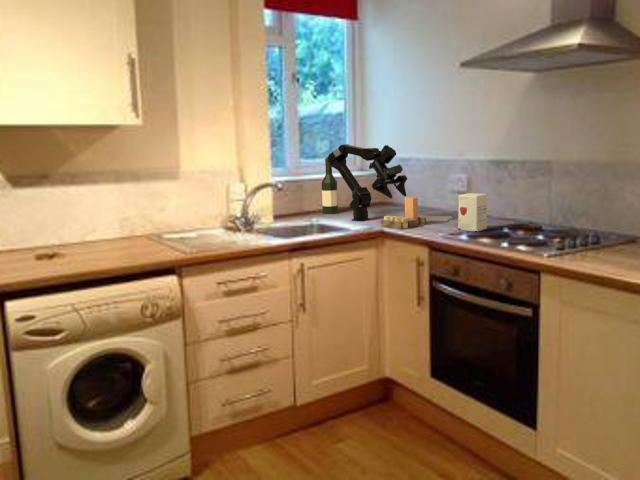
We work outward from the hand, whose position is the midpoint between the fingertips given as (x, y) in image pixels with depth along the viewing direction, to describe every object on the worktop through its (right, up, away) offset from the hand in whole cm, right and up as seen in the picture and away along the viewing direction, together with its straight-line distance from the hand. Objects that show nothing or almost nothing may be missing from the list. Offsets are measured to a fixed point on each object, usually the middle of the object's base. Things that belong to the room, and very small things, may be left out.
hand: (398, 196), depth 276 cm
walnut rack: (+2, -14, -7) cm, 16 cm away
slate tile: (+15, -11, +8) cm, 20 cm away
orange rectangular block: (+5, -13, -4) cm, 14 cm away
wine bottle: (-30, -5, +51) cm, 59 cm away
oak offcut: (-1, -14, -13) cm, 19 cm away
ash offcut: (-5, -14, -8) cm, 17 cm away
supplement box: (+29, -15, -18) cm, 38 cm away
